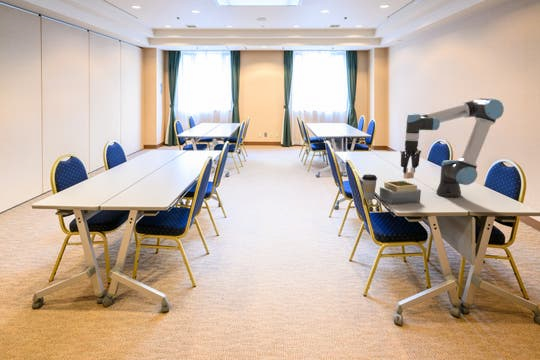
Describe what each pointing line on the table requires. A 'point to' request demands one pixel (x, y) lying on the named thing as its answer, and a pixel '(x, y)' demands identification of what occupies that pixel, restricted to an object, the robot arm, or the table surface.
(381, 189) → the open square box
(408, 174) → the ball
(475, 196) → the table surface
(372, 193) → the coffee cup
